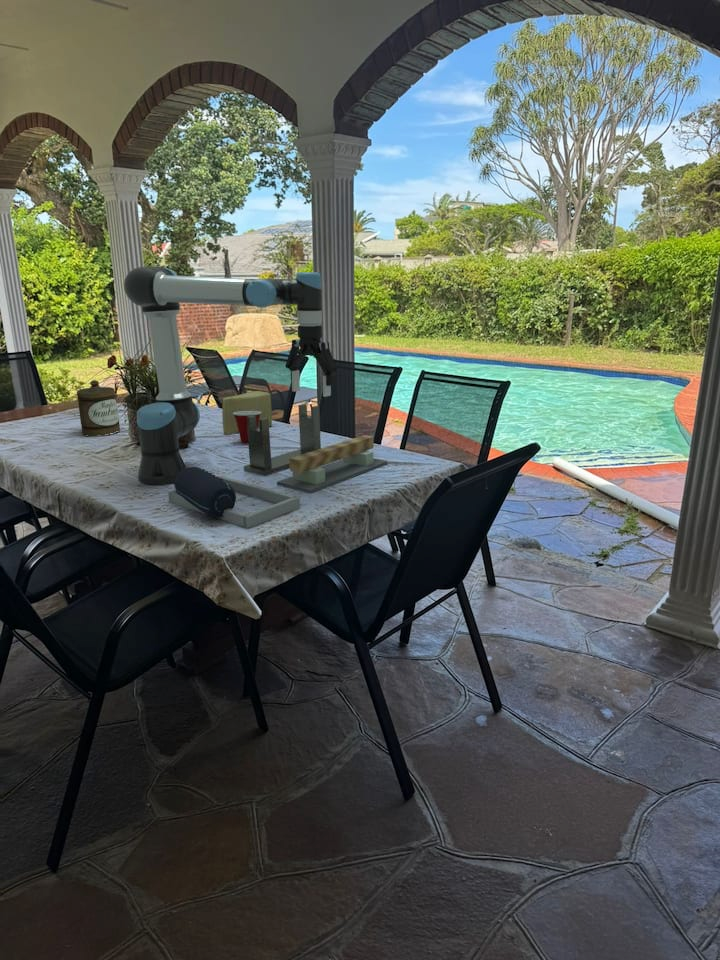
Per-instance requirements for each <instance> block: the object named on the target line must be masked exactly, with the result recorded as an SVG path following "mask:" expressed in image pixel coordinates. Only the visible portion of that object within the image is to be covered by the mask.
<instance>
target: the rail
mask: <svg viewBox="0 0 720 960" xmlns="http://www.w3.org/2000/svg"><path fill="white" fill-rule="evenodd" d="M374 448H375V447H374V436H372V435H365V434H364V435H361V436H357V437H354V438H351V439H348V440H344V441H341V442H338V443H334V444H331V445H327V446H324V447H322V448H321V449H318V450H315V451H312V452H309V453H305V454H302V455H299V456H296V457H293V458H289V459H290V468H289V472H292V473H293V472H296V473H303V472H305V471H308V470H311V469H314V468H317V467H321V466H324V465H327V464H330V463H333V462H336V461H339V460H341V459H343V458H346V457H349V456H352V455H355V454H358V453H361V452H364V451H370V450H372V449H374Z"/></svg>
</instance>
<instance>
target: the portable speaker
mask: <svg viewBox="0 0 720 960" xmlns="http://www.w3.org/2000/svg"><path fill="white" fill-rule="evenodd" d="M173 485H174V490H175V489H176V491H177V493H178V494H179V495H181V496H182V497H183V498H184V499H185V500H186V501H188V502H189V503H191V504H192V505H193V506H195V507H196V508H198V509H199V510H201V511H202V512H204V513H203V514H204V515H207V516H209V517H211V518H217V519H219V518H220V517H223V514H224V510H226V509H232V510H234V507H235V504H236V500H237V495H236V491H234V489H233V488H232V486H231V485H230V484H228V483H226V482H225V481H223V480H222V479H221V478H220V479H219V477H218V476H216V475H215V474H212V473H211V472H209V471H208V470H206V469H204V468H201V467H198V466H190V467H189V466H188V467H187V466H186V468H184V469H182V470H181V471H180V472H179V473H178V474H177V475H176V477H175V481H174V483H173ZM202 512H201V513H202Z"/></svg>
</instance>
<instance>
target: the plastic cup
mask: <svg viewBox="0 0 720 960" xmlns="http://www.w3.org/2000/svg"><path fill="white" fill-rule="evenodd" d="M260 414H261V412H260V411H239V412H234V413H233V415H234V416H235V419H236V423H237V427H238V431H239V432H238V435H239V437H240V441H241V443H242V444H245V443H248V431H247V417H249V416H256V424H257V428H258V424H259V417H260Z"/></svg>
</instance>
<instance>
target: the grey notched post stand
mask: <svg viewBox="0 0 720 960" xmlns="http://www.w3.org/2000/svg"><path fill="white" fill-rule="evenodd" d="M320 413H321V412H320V405H313V406H310V415H309V414H308V405H307V403H302V404H298V424H299V447H300V448H299V449H296V450H293V451H290V452H289V451H288V452H285V453H283V454H280V455H279V454H278V455H277V456H272V453H271V452H272V451H271V437H270V427H269V418H263V419H259V426H260V428H257V424H256V416H249V417H247V431H248V444H247V445H248V456H249V457H248V458H249V464H246V465H244V466H243V471H245V472H249V473H253V474H257V475H261V476H264V477H265V476H268V475H272V474H275V473H277V472H278V473H279V472H281V471H283V470H286V469H290V459H289V458H293V457H296V456H299V455H302V454H305V453H309V452H312V451H315V450H318V449H321V447H322V445H321V444H322V443H321V442H322V441H321V420H320V419H321V416H320V415H321V414H320Z"/></svg>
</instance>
